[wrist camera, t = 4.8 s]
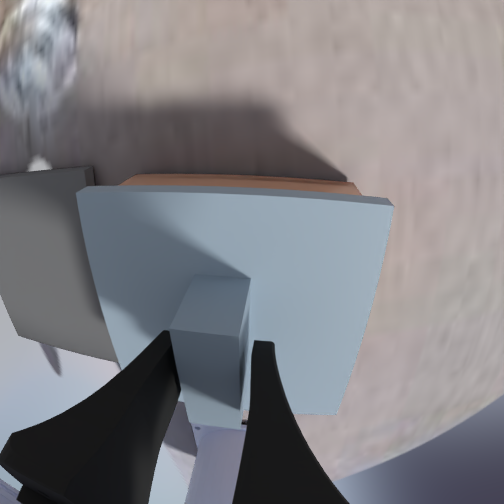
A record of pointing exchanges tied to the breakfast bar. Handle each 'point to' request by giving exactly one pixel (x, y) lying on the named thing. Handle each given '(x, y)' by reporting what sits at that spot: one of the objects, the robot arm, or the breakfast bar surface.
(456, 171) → the breakfast bar surface
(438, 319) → the breakfast bar surface
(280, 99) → the breakfast bar surface
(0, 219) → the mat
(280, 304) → the lid
